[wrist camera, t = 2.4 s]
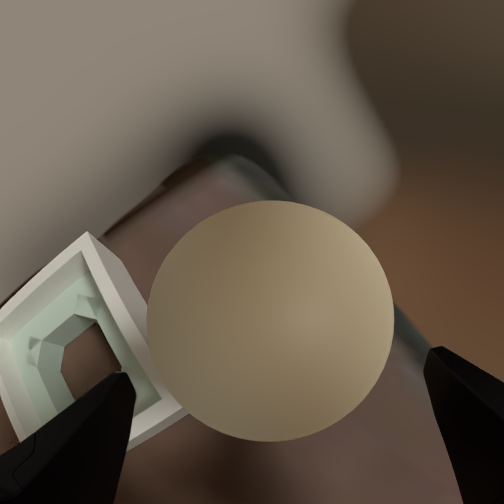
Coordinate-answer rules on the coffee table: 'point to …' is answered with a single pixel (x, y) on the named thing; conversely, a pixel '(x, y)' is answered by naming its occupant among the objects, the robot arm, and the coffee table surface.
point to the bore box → (67, 329)
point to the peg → (270, 321)
